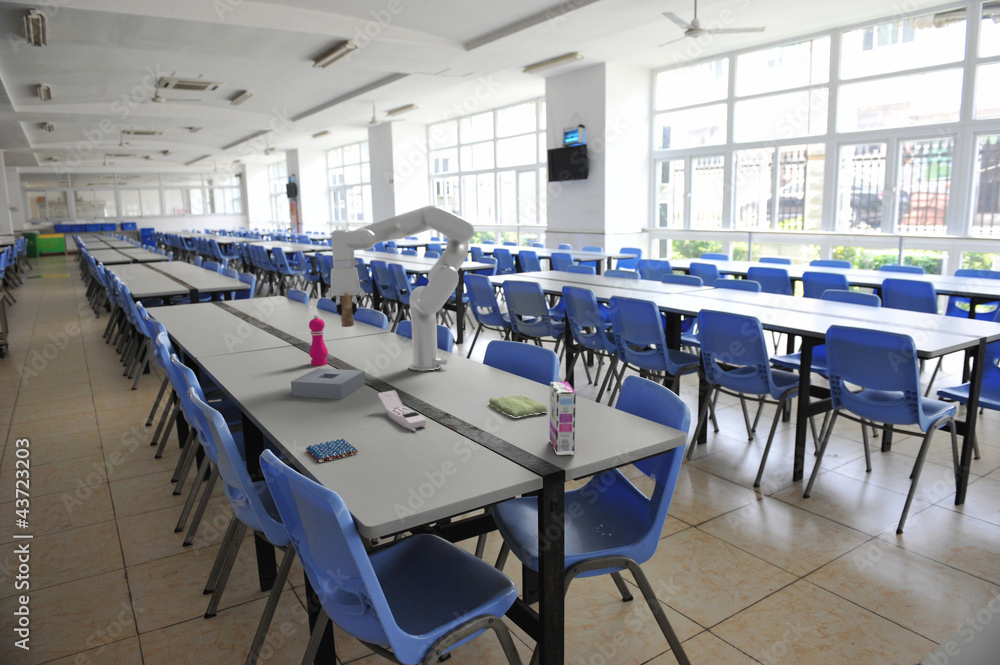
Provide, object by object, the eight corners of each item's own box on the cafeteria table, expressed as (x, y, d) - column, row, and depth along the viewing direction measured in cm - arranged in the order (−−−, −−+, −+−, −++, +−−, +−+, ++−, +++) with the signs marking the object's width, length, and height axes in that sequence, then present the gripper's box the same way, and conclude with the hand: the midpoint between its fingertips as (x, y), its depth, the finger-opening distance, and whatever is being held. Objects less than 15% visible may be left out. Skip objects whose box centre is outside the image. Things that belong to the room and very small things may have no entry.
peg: (355, 324, 242) (353, 287, 239) (350, 327, 238) (348, 288, 235) (344, 324, 243) (342, 287, 240) (339, 326, 239) (337, 288, 236)
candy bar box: (575, 455, 164) (576, 392, 161) (555, 456, 164) (556, 393, 161) (567, 440, 175) (568, 380, 172) (548, 440, 175) (549, 381, 171)
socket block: (365, 384, 231) (364, 370, 230) (341, 399, 214) (340, 384, 213) (318, 381, 235) (317, 368, 234) (291, 396, 218) (290, 381, 217)
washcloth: (522, 400, 213) (522, 390, 212) (550, 415, 197) (550, 404, 197) (485, 405, 207) (485, 396, 206) (511, 422, 191) (511, 411, 191)
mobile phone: (394, 389, 204) (430, 409, 183) (395, 407, 205) (431, 429, 184) (376, 392, 201) (410, 413, 180) (377, 411, 202) (411, 434, 181)
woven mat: (359, 455, 166) (359, 448, 166) (319, 465, 161) (318, 457, 160) (344, 444, 175) (343, 436, 175) (305, 453, 169) (304, 445, 169)
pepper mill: (323, 366, 258) (320, 316, 254) (306, 365, 259) (303, 315, 255) (331, 362, 265) (328, 313, 261) (315, 361, 266) (312, 312, 262)
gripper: (366, 262, 242) (369, 311, 246) (319, 264, 237) (322, 314, 241) (368, 264, 235) (371, 314, 239) (320, 266, 230) (323, 317, 234)
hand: (347, 314), depth 240 cm, fingers closed on peg, 4 cm apart
